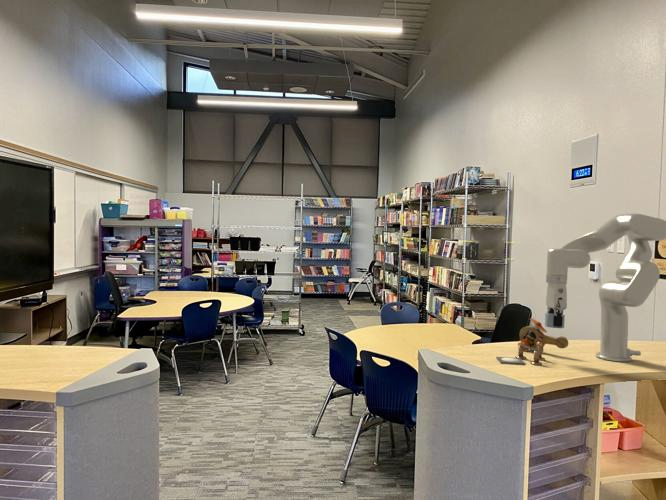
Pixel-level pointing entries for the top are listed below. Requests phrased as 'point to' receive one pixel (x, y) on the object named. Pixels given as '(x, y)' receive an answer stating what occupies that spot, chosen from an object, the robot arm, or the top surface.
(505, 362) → the pad
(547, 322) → the blue-grey block
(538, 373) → the top surface
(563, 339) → the toy helicopter
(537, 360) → the brown legged frame
